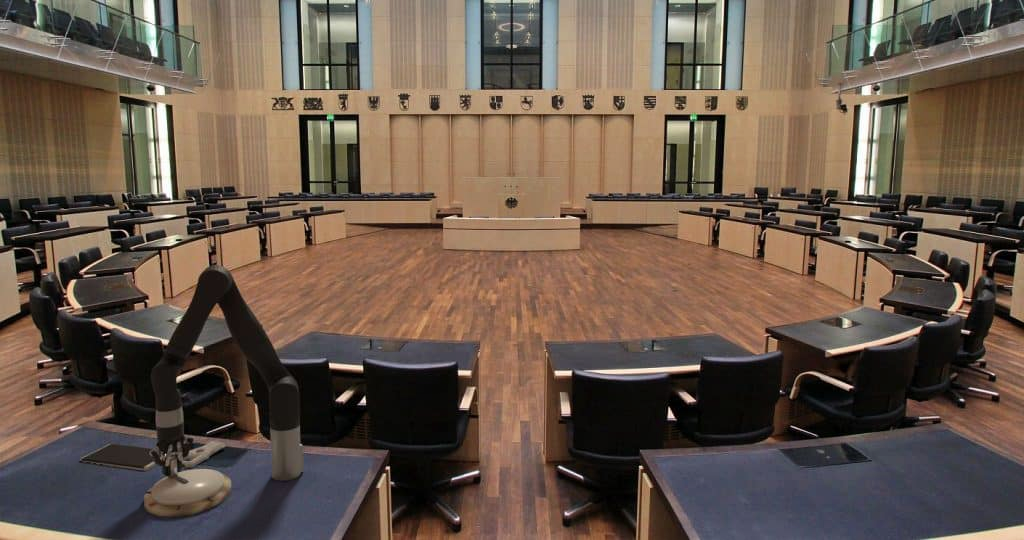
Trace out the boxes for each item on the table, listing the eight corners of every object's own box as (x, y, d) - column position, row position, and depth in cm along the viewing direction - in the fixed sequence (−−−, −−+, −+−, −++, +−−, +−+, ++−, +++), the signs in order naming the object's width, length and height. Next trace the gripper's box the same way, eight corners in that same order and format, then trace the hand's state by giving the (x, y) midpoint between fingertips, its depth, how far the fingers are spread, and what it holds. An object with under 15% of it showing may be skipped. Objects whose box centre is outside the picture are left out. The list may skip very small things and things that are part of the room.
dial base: (203, 470, 210) (202, 463, 210) (247, 490, 198) (247, 483, 197) (128, 500, 190) (127, 492, 190) (172, 525, 177) (172, 517, 177)
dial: (237, 484, 197) (236, 462, 196) (175, 512, 180) (173, 488, 179) (200, 467, 207) (199, 446, 206) (138, 492, 190) (136, 469, 189)
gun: (205, 436, 229) (227, 440, 226) (206, 444, 230) (228, 449, 227) (164, 459, 212) (188, 464, 209) (165, 468, 213) (189, 473, 210)
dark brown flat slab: (111, 447, 227) (110, 442, 227) (175, 455, 222) (175, 450, 222) (78, 463, 214) (78, 458, 214) (146, 472, 209) (145, 467, 209)
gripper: (153, 432, 187) (157, 485, 190) (198, 417, 199) (200, 468, 201) (140, 426, 191) (143, 479, 194) (184, 412, 203) (187, 462, 205)
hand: (172, 473), depth 198 cm, fingers closed on dial, 3 cm apart
